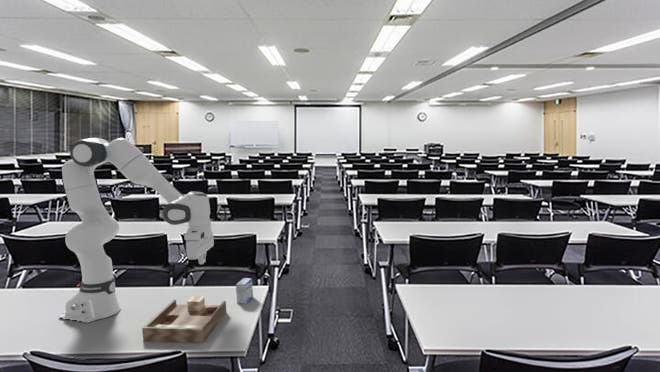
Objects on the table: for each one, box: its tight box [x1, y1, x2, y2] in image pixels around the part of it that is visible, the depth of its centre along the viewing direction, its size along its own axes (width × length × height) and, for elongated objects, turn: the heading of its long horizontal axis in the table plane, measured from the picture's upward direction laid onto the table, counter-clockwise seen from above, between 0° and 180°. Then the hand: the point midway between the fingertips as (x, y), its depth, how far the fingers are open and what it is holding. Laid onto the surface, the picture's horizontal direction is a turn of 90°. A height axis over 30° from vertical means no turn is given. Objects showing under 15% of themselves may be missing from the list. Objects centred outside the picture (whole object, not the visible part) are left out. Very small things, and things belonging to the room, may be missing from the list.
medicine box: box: [235, 277, 254, 305], centre depth 191 cm, size 8×4×9 cm, turn 168°
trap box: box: [141, 299, 227, 344], centre depth 167 cm, size 22×25×5 cm
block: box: [186, 295, 206, 311], centre depth 176 cm, size 5×5×4 cm
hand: (202, 263), depth 182 cm, fingers closed
